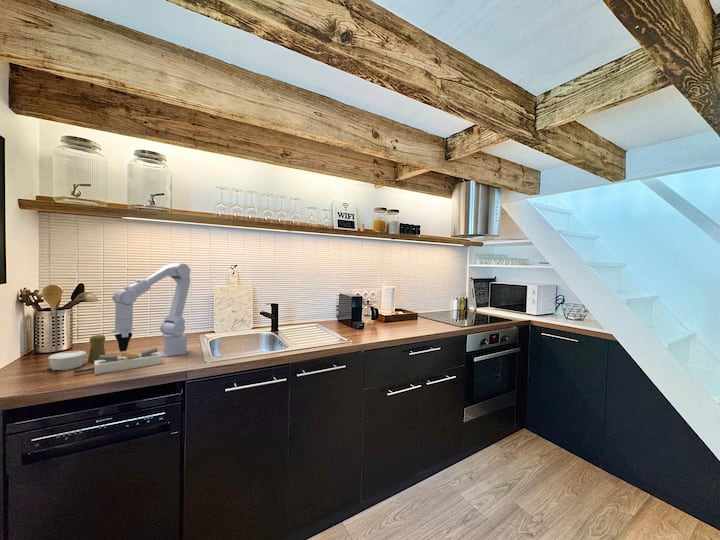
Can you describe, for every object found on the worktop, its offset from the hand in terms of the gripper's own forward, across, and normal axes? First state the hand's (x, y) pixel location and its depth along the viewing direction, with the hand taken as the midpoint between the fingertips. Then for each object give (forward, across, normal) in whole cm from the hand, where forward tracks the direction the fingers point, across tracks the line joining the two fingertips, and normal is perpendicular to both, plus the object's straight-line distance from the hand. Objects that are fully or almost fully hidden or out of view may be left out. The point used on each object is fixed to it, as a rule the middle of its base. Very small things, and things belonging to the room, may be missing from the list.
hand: (123, 351), depth 122 cm
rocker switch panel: (+7, 0, -1) cm, 7 cm away
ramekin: (+7, -13, -17) cm, 22 cm away
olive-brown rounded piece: (+7, -17, -8) cm, 20 cm away
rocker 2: (+3, 0, +9) cm, 10 cm away
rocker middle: (+3, 0, +2) cm, 4 cm away
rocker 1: (+3, 0, -5) cm, 6 cm away
